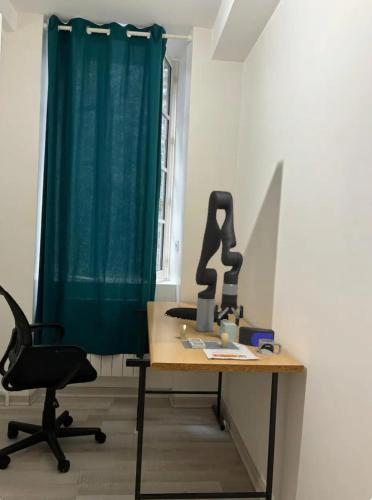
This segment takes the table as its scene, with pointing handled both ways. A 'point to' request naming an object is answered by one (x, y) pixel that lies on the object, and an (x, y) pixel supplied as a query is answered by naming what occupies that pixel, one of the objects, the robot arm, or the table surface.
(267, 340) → the mug
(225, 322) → the block
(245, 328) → the leaning round-cornered charcoal block
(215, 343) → the board
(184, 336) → the pin
